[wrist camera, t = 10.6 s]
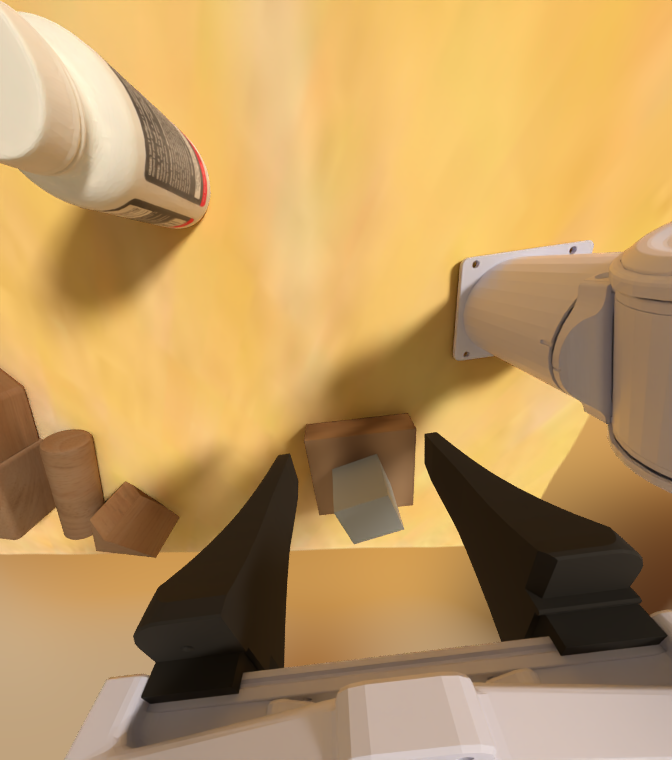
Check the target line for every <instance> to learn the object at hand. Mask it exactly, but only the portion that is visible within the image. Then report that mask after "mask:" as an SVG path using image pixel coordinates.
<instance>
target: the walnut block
mask: <svg viewBox="0 0 672 760" xmlns="http://www.w3.org/2000/svg"><path fill="white" fill-rule="evenodd" d="M304 443H305V447H306V452H307V457H308V462H309V467H310V472H311V476H312V481H313V486H314V491H315V496H316V501H317V505H318V510H319V515H326V514H334V505H333V477H332V469H334V468H337V467H340V466H343V465H346V464H349V463H352V462H355V461H357V460H360V459H363V458H366V457H369V456H372V455H375V454H377V456H378V458H379V460H380V462H381V464H382V467H383V469H384V471H385V473H386V475H387V478H388V480H389V482H390V484H391V487H392V490H393V494H394V497H395V500H396V504H397V507H400V506H409V505H413V494H414V470H415V446H416V427H415V426H414V424H413V422H412V420H411V418H410V417H409V415H408V413H404V414H396V415H387V416H378V417H369V418H360V419H351V420H343V421H334V422H325V423H316V424H307V425H306V431H305V439H304Z"/></svg>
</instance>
